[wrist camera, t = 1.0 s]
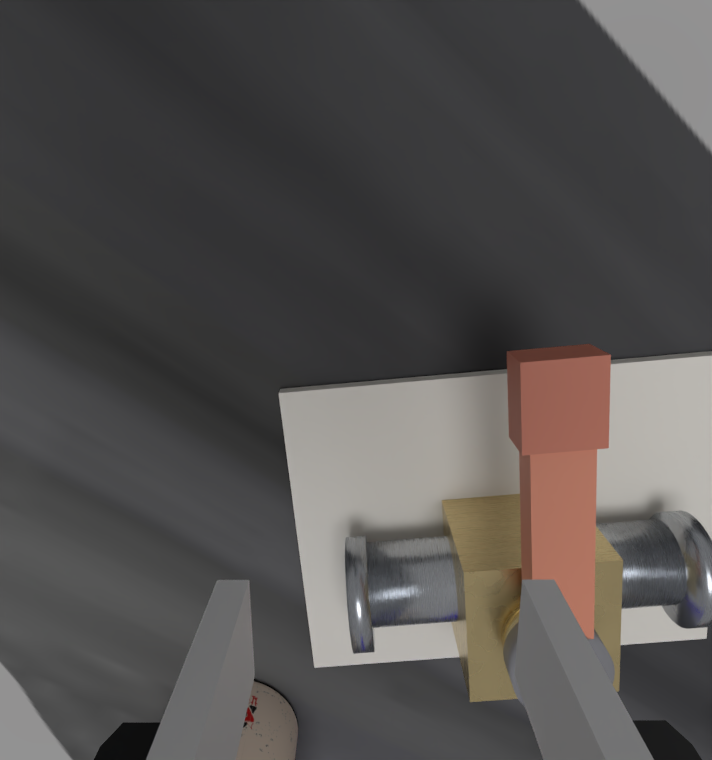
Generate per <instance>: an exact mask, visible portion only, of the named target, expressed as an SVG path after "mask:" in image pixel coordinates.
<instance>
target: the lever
mask: <svg viewBox="0 0 712 760" xmlns="http://www.w3.org/2000/svg"><path fill="white" fill-rule="evenodd" d="M610 371H611V355H610V354H608V353H606V352H604V351H602V350H600V349H598V348H597V347H595V346H593V345H591V344H583V345H572V346H560V347H549V348H538V349H526V350H515V351H507V384H508V424H509V438H510V439H511V441H512V442H513V444H514V445H515V446H516V448H517V449H518V451H519V471H520V521H521V570H522V580H553V579H554V580H555V582H556V584H557V585H558V587H559V589H560V591H561V593H562V594H563V596H564V598H565V600H566V602H567V604H568V605H569V607H570V609H571V611H572V613H573V614H574V616H575V618H576V620H577V622H578V623H579V625H580V627H581V629H582V631H583V632H584V634H585V636H586V638H587V640H588V641H589V643H590V645H591V647H592V649H593V650H594V652H595V654H596V656H597V658H598V659H599V661H600V663H601V665H602V667H603V669H604V670H605V672H606V674H607V676H608V678H609V679H610V681H611V683H612V685H613V681H614V675H615V669H614V663H613V660H612V658H611V656H610V654H609V653H608V651H607V649H606V647H605V646H604V644H603V642H602V641H601V639H600V637H599V636H598V634H597V632H596V630H595V629H594V606H595V546H596V487H597V449H606V448H609V415H610ZM518 625H519V622H518V623H517V624H516V625H515V626H514V627H513V628H512V629H511V631H510V632H509V634H508V636H507V638H506V640H505V643H504V648H503V656H504V661H505V665H506V668H507V671H508V674H509V677H510V680H511V683H512V686H513V689H514V692H515V694H516V696H517V698H518V699H519V701H520V702H521V703H522V704H523V705H524V702H523V699H522V696H521V693H520V690H519V687H518V685H517V682H516V679H515V676H514V675H515V662H516V650H517V637H518ZM524 706H525V705H524Z"/></svg>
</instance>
